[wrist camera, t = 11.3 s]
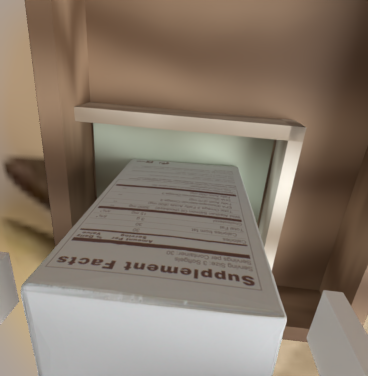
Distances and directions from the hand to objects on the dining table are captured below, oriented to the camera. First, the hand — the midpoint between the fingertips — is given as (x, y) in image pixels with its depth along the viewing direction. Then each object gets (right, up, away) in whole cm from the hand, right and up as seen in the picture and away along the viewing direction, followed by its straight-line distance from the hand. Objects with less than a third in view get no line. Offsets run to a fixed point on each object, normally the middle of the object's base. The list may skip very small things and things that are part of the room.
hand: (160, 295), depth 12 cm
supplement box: (+1, +3, +8) cm, 9 cm away
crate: (+4, +7, +7) cm, 10 cm away
